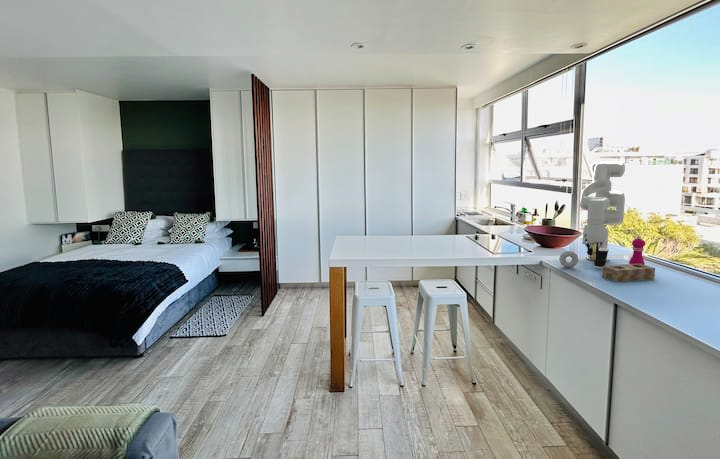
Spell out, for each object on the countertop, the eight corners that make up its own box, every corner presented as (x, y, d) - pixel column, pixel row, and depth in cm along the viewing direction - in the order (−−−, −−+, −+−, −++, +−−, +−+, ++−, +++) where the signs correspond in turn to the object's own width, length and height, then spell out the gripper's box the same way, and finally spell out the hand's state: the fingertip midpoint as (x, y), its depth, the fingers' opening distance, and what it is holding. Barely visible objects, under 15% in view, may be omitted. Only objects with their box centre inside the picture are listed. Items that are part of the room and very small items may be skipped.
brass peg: (588, 258, 229) (589, 241, 227) (592, 258, 230) (594, 240, 228) (591, 260, 226) (593, 242, 225) (596, 259, 227) (598, 241, 225)
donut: (576, 267, 242) (578, 250, 241) (578, 268, 239) (579, 251, 237) (558, 266, 245) (559, 249, 243) (559, 267, 241) (560, 251, 240)
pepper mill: (646, 273, 226) (649, 237, 223) (631, 272, 228) (634, 237, 225) (640, 269, 233) (643, 234, 230) (626, 269, 235) (629, 234, 232)
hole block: (616, 281, 212) (617, 270, 211) (602, 276, 222) (602, 265, 221) (654, 279, 216) (655, 267, 215) (638, 274, 225) (639, 263, 224)
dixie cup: (608, 269, 235) (609, 250, 233) (592, 268, 238) (593, 249, 237) (606, 266, 242) (607, 247, 241) (590, 265, 246) (592, 247, 244)
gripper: (603, 219, 229) (601, 252, 232) (576, 221, 227) (574, 254, 230) (613, 221, 222) (611, 255, 225) (586, 223, 219) (583, 257, 223)
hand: (592, 254), depth 228 cm, fingers closed on brass peg, 3 cm apart
